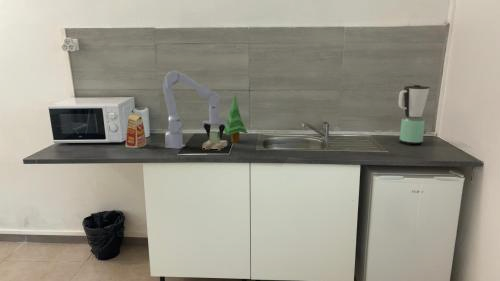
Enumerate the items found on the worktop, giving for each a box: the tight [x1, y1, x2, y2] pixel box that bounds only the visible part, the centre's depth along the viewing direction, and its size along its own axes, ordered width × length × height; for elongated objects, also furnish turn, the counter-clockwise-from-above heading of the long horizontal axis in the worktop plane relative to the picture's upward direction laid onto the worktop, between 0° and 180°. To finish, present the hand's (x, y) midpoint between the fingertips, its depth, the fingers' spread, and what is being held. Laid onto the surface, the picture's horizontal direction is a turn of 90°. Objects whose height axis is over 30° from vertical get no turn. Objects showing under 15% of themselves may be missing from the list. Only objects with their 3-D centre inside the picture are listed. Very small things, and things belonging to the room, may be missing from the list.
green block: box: [209, 130, 221, 144], centre depth 211 cm, size 4×4×6 cm
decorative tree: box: [223, 94, 248, 144], centre depth 222 cm, size 14×16×30 cm
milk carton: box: [125, 112, 147, 149], centre depth 214 cm, size 9×9×20 cm
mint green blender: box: [397, 84, 431, 146], centre depth 217 cm, size 19×13×35 cm
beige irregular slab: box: [202, 139, 228, 151], centre depth 212 cm, size 11×11×3 cm
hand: (214, 137), depth 211 cm, fingers open, 7 cm apart
